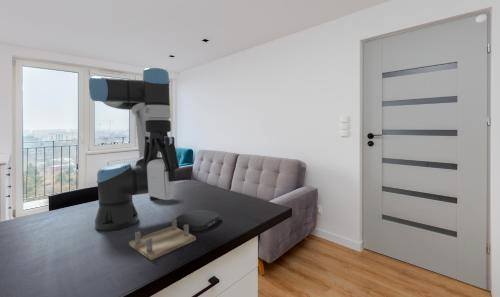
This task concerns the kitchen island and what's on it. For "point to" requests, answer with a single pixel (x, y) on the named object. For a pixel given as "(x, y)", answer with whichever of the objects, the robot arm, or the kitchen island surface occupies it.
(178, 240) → the peg board
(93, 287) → the kitchen island surface
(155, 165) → the photo printer
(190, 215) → the media streaming box
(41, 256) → the kitchen island surface
